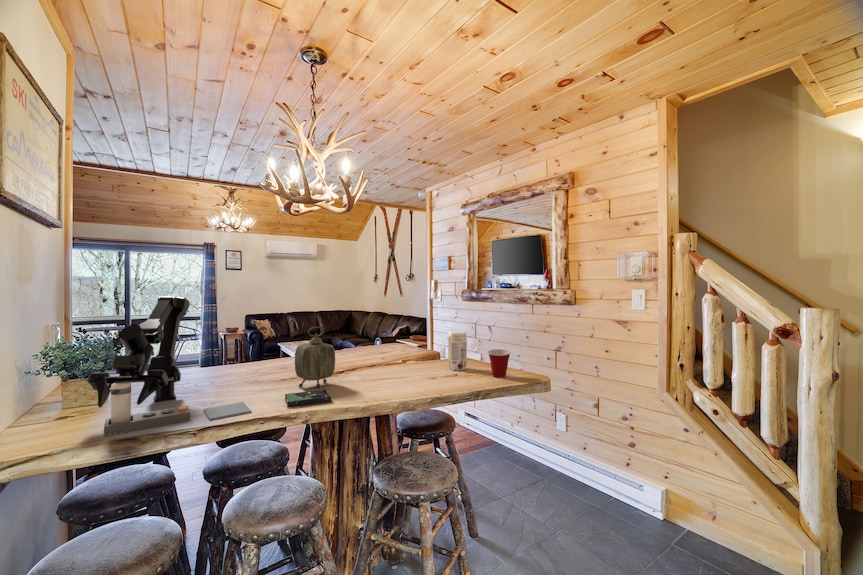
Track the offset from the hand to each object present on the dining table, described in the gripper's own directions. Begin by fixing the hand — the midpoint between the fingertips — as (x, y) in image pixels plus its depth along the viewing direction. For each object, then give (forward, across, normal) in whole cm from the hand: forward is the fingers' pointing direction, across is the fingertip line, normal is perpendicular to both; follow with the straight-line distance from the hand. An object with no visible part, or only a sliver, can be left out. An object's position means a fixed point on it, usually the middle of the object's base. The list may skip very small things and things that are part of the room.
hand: (118, 405), depth 106 cm
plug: (+5, 0, +5) cm, 7 cm away
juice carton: (-32, +121, +42) cm, 132 cm away
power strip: (+2, +6, +8) cm, 10 cm away
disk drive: (-5, +51, +16) cm, 53 cm away
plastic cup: (-17, +135, +28) cm, 139 cm away
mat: (-2, +26, +12) cm, 28 cm away
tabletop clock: (-20, +53, +30) cm, 64 cm away
